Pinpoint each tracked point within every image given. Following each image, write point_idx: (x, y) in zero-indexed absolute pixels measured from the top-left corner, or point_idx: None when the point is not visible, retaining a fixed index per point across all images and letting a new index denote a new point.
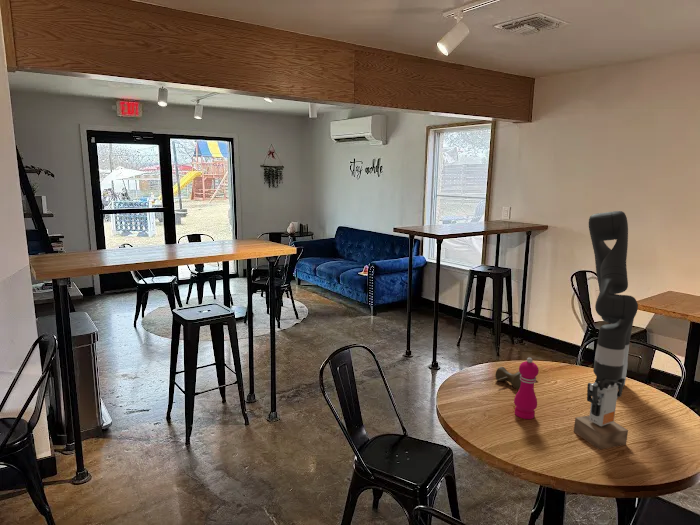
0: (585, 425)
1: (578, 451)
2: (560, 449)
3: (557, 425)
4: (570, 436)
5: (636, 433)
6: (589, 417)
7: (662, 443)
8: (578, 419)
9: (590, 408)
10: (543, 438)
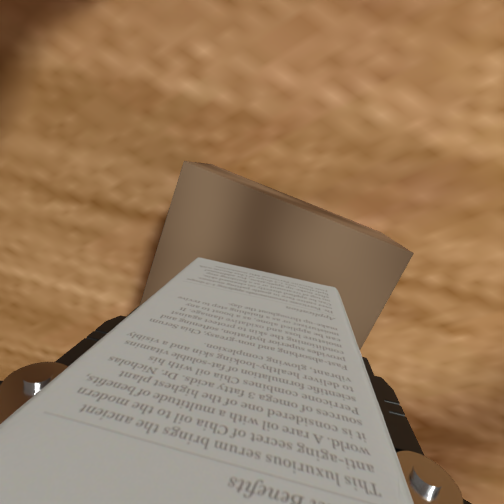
0: (157, 252)
1: (67, 269)
2: (9, 211)
3: (196, 66)
4: (150, 180)
5: (471, 374)
6: (188, 265)
7: (459, 471)
8: (176, 190)
9: (156, 292)
10: (11, 104)
